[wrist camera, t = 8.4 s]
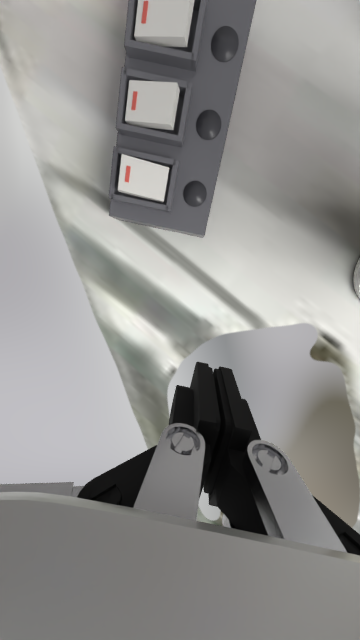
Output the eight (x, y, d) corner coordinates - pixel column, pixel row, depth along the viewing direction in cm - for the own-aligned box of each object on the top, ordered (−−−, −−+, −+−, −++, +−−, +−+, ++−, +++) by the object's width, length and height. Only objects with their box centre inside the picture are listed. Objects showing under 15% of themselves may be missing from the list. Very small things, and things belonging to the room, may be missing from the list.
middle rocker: (179, 90, 26) (176, 81, 25) (173, 130, 28) (170, 123, 26) (134, 87, 28) (129, 79, 26) (129, 126, 29) (124, 119, 28)
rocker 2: (168, 170, 30) (169, 167, 29) (163, 203, 31) (163, 201, 30) (122, 157, 29) (121, 153, 28) (118, 191, 30) (117, 189, 29)
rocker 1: (194, -1, 24) (192, -15, 23) (186, 47, 25) (184, 35, 24) (144, 0, 25) (139, -13, 24) (138, 46, 27) (133, 35, 25)
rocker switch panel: (249, 26, 29) (262, -26, 23) (203, 237, 36) (204, 234, 31) (142, 4, 29) (131, -54, 23) (118, 219, 36) (104, 213, 31)
